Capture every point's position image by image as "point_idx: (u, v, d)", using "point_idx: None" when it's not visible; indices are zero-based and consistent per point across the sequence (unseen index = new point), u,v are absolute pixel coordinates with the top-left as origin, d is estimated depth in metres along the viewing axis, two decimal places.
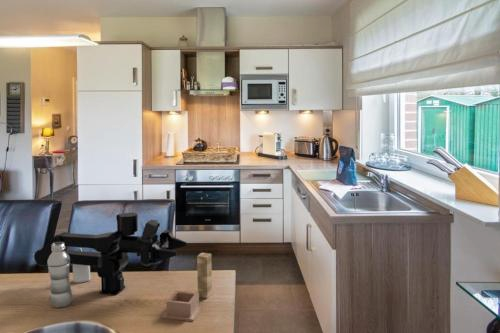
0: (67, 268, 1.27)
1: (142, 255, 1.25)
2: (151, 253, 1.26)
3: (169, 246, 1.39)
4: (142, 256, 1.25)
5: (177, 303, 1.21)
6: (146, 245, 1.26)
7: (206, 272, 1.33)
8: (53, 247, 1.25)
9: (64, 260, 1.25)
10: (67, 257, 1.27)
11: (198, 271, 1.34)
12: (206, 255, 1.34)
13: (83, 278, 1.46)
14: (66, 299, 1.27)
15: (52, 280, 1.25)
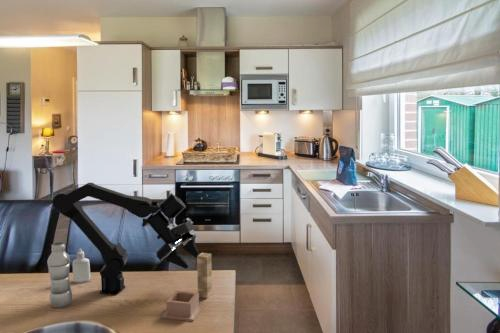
0: (67, 268, 1.27)
1: (162, 250, 1.28)
2: (169, 254, 1.29)
3: (185, 246, 1.42)
4: (161, 250, 1.28)
5: (177, 303, 1.21)
6: (171, 245, 1.29)
7: (206, 272, 1.33)
8: (53, 247, 1.25)
9: (64, 260, 1.25)
10: (67, 257, 1.27)
11: (198, 271, 1.34)
12: (206, 255, 1.34)
13: (83, 278, 1.46)
14: (66, 299, 1.27)
15: (52, 280, 1.25)
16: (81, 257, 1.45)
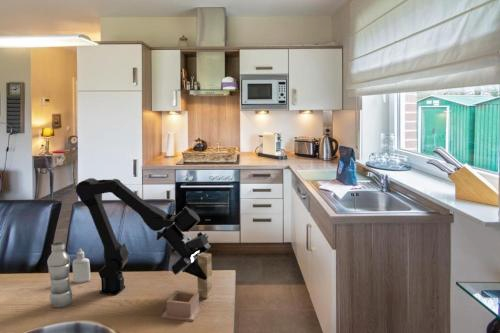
0: (67, 268, 1.27)
1: (177, 265, 1.27)
2: (188, 265, 1.30)
3: None
4: (176, 265, 1.27)
5: (177, 303, 1.21)
6: (186, 260, 1.27)
7: (206, 272, 1.33)
8: (53, 247, 1.25)
9: (64, 260, 1.25)
10: (67, 257, 1.27)
11: None
12: (206, 255, 1.34)
13: (83, 278, 1.46)
14: (66, 299, 1.27)
15: (52, 280, 1.25)
16: (81, 257, 1.45)
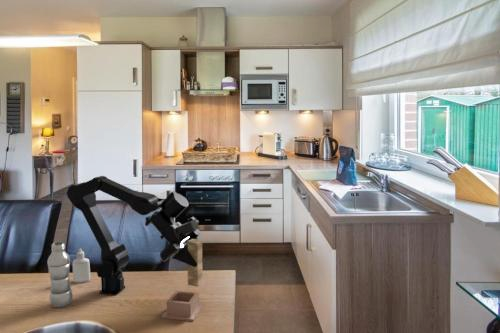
0: (67, 268, 1.27)
1: (166, 250, 1.21)
2: (178, 251, 1.25)
3: None
4: (165, 251, 1.21)
5: (177, 303, 1.21)
6: (175, 245, 1.21)
7: (196, 259, 1.27)
8: (53, 247, 1.25)
9: (64, 260, 1.25)
10: (67, 257, 1.27)
11: None
12: (197, 241, 1.28)
13: (83, 278, 1.46)
14: (66, 299, 1.27)
15: (52, 280, 1.25)
16: (81, 257, 1.45)
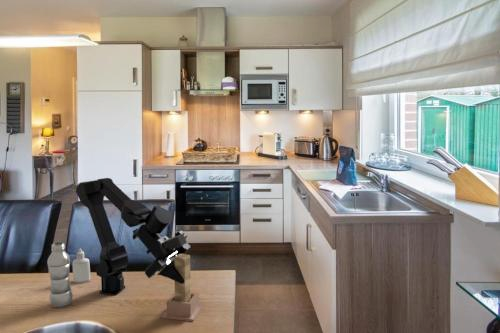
0: (67, 268, 1.27)
1: (151, 267, 1.16)
2: (164, 268, 1.19)
3: None
4: (150, 267, 1.16)
5: (177, 303, 1.21)
6: (161, 262, 1.16)
7: (184, 275, 1.21)
8: (53, 247, 1.25)
9: (64, 260, 1.25)
10: (67, 257, 1.27)
11: None
12: (184, 256, 1.22)
13: (83, 278, 1.46)
14: (66, 299, 1.27)
15: (52, 280, 1.25)
16: (81, 257, 1.45)
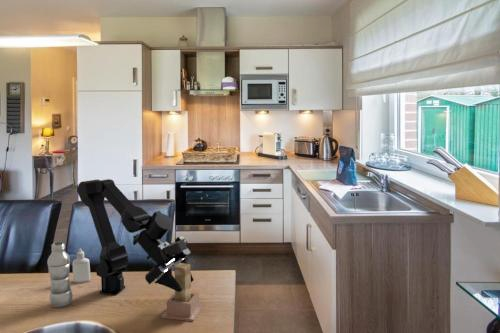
0: (67, 268, 1.27)
1: (151, 273, 1.16)
2: (161, 276, 1.17)
3: None
4: (150, 273, 1.16)
5: (177, 303, 1.21)
6: (161, 268, 1.16)
7: (184, 284, 1.22)
8: (53, 247, 1.25)
9: (64, 260, 1.25)
10: (67, 257, 1.27)
11: None
12: (184, 266, 1.22)
13: (83, 278, 1.46)
14: (66, 299, 1.27)
15: (52, 280, 1.25)
16: (81, 257, 1.45)
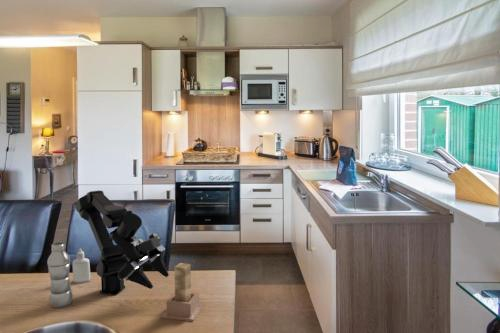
0: (67, 268, 1.27)
1: (123, 269, 1.19)
2: (132, 273, 1.20)
3: (152, 263, 1.32)
4: (123, 269, 1.19)
5: (177, 303, 1.21)
6: (133, 264, 1.19)
7: (184, 284, 1.22)
8: (53, 247, 1.25)
9: (64, 260, 1.25)
10: (67, 257, 1.27)
11: (176, 283, 1.22)
12: (184, 266, 1.22)
13: (83, 278, 1.46)
14: (66, 299, 1.27)
15: (52, 280, 1.25)
16: (81, 257, 1.45)
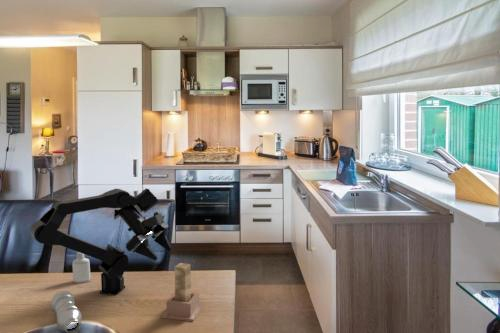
0: None
1: (131, 242, 1.30)
2: (138, 245, 1.31)
3: (157, 238, 1.44)
4: (130, 242, 1.30)
5: (177, 303, 1.21)
6: (140, 237, 1.31)
7: (184, 284, 1.22)
8: None
9: None
10: (79, 323, 1.14)
11: (176, 283, 1.22)
12: (184, 266, 1.22)
13: (83, 278, 1.46)
14: None
15: None
16: (81, 257, 1.45)
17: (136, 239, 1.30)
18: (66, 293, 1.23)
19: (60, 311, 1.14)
